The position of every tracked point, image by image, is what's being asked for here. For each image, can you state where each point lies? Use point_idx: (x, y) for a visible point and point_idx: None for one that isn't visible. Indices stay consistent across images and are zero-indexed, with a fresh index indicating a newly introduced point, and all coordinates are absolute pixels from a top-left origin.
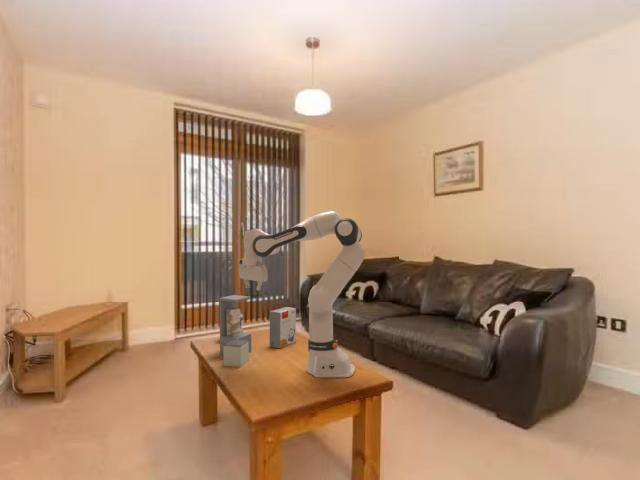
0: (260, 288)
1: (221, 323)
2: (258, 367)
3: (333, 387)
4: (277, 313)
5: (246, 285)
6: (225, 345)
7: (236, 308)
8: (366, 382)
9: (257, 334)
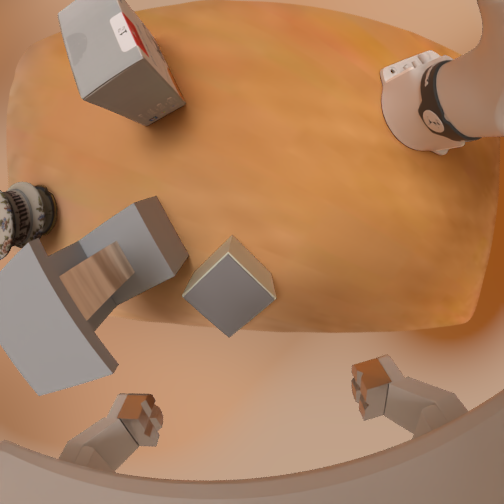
0: (394, 368)
1: (96, 327)
2: (306, 234)
3: (482, 162)
4: (129, 69)
5: (146, 441)
6: (232, 333)
7: None
8: None
9: (28, 128)
